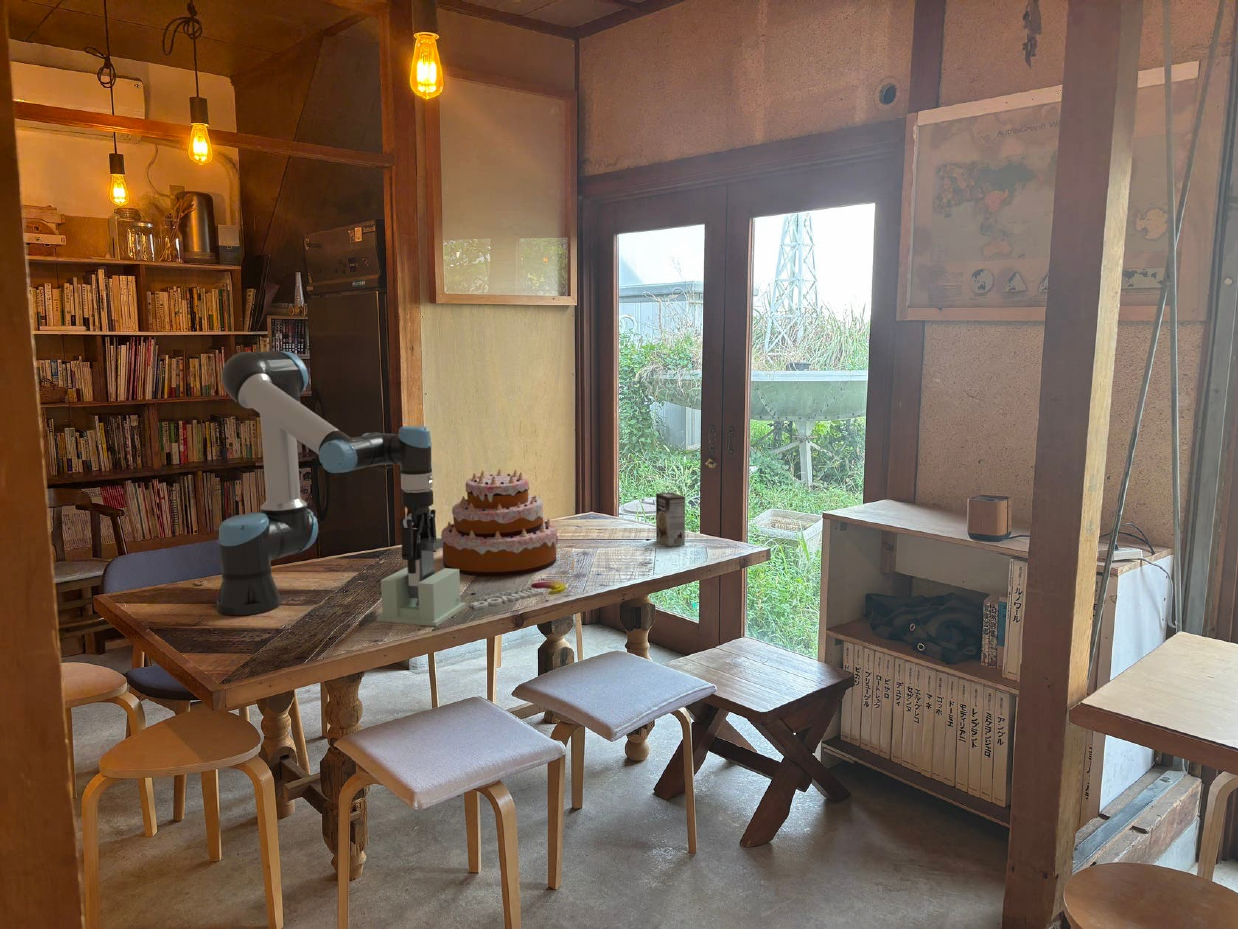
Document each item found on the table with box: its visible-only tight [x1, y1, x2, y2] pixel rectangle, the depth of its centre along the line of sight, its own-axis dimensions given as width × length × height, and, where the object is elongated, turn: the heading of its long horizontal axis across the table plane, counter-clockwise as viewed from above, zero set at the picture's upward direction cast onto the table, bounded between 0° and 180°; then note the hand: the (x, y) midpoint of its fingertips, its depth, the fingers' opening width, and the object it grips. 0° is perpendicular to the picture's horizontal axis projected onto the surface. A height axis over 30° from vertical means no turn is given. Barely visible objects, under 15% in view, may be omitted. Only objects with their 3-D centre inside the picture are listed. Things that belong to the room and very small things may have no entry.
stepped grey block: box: [406, 536, 443, 599], centre depth 221 cm, size 7×6×14 cm
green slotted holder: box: [376, 566, 467, 627], centre depth 223 cm, size 16×16×10 cm
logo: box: [470, 581, 566, 611], centre depth 238 cm, size 29×1×10 cm
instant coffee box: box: [655, 492, 686, 547], centre depth 295 cm, size 9×6×16 cm
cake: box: [440, 468, 559, 578], centre depth 272 cm, size 35×35×28 cm
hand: (421, 581), depth 222 cm, fingers closed on stepped grey block, 6 cm apart
